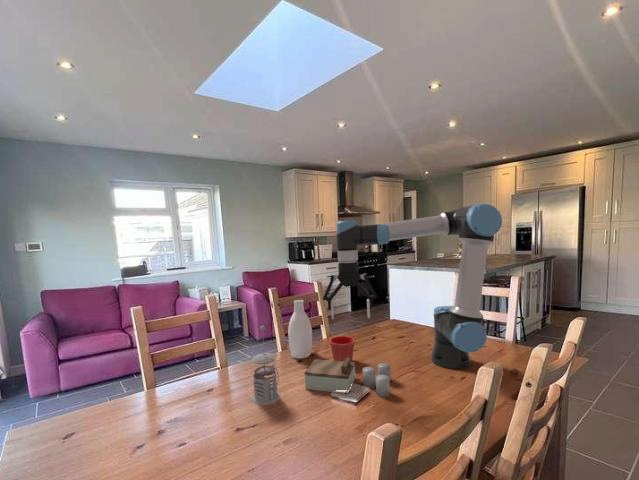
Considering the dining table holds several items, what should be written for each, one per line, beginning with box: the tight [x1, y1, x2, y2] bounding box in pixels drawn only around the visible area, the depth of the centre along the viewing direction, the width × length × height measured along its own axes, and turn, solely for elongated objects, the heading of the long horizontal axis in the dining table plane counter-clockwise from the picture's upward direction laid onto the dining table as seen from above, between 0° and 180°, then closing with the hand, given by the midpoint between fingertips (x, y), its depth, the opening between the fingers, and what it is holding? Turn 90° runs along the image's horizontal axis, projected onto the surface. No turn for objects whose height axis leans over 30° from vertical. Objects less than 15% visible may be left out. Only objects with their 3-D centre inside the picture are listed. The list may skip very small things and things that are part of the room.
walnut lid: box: [304, 357, 356, 378], centre depth 117 cm, size 16×12×3 cm
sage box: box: [304, 364, 356, 393], centre depth 117 cm, size 16×12×5 cm
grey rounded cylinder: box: [375, 374, 391, 398], centre depth 108 cm, size 5×5×6 cm
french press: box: [251, 325, 281, 406], centre depth 108 cm, size 10×12×25 cm
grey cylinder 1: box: [361, 366, 376, 389], centre depth 115 cm, size 5×5×6 cm
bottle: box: [287, 299, 313, 360], centre depth 146 cm, size 11×11×25 cm
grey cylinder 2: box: [377, 362, 392, 383], centre depth 118 cm, size 5×5×6 cm
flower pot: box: [329, 335, 356, 362], centre depth 136 cm, size 11×11×10 cm
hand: (350, 317), depth 119 cm, fingers open, 13 cm apart
